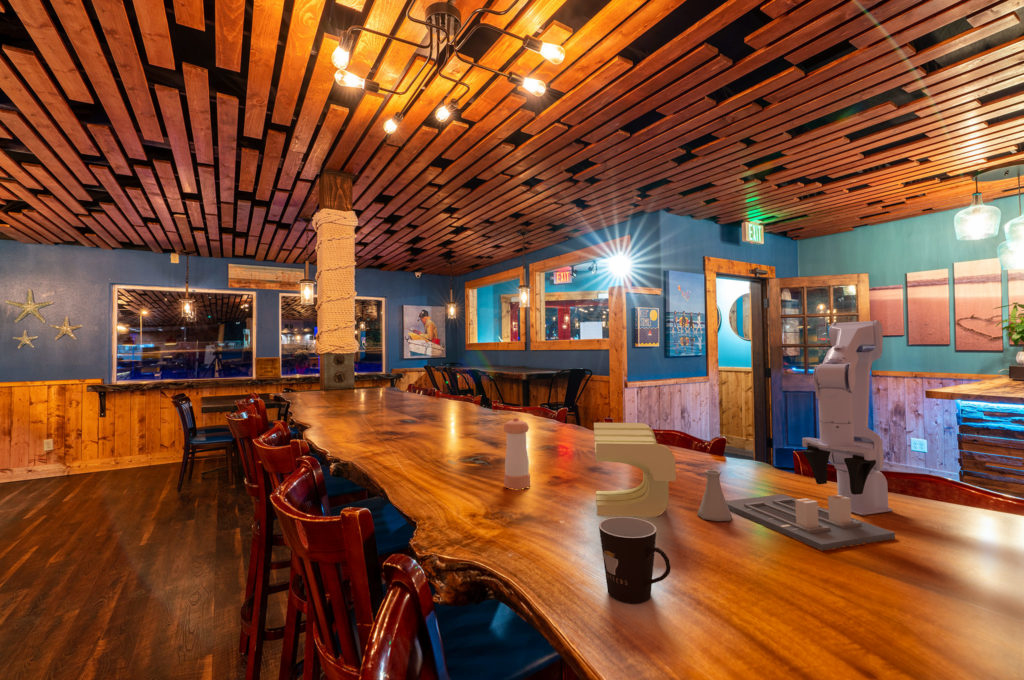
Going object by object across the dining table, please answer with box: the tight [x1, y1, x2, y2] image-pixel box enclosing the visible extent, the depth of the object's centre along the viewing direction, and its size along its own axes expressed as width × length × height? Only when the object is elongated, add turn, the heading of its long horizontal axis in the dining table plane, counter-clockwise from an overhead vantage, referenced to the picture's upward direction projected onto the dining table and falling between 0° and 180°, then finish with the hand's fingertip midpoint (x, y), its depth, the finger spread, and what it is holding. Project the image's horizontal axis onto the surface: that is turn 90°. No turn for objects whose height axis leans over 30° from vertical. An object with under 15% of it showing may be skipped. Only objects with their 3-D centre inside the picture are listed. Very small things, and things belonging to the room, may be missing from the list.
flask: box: [697, 469, 733, 522], centre depth 102 cm, size 7×7×10 cm
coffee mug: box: [598, 516, 672, 605], centre depth 69 cm, size 12×9×10 cm
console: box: [726, 493, 896, 552], centre depth 99 cm, size 18×26×2 cm
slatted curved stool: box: [593, 422, 677, 518], centre depth 110 cm, size 30×16×18 cm, turn 171°
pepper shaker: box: [503, 417, 531, 489], centre depth 129 cm, size 7×7×19 cm
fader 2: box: [827, 494, 852, 524], centre depth 94 cm, size 3×2×5 cm
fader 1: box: [795, 497, 819, 529], centre depth 92 cm, size 3×2×5 cm
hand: (838, 488), depth 94 cm, fingers open, 7 cm apart
